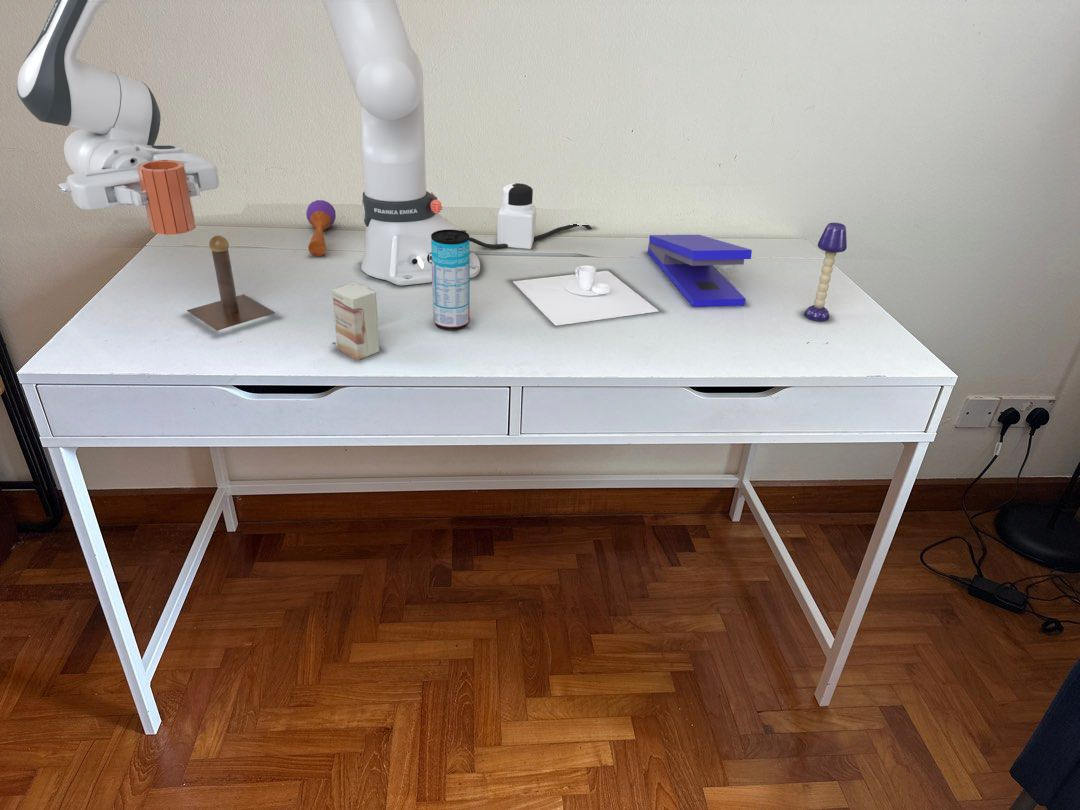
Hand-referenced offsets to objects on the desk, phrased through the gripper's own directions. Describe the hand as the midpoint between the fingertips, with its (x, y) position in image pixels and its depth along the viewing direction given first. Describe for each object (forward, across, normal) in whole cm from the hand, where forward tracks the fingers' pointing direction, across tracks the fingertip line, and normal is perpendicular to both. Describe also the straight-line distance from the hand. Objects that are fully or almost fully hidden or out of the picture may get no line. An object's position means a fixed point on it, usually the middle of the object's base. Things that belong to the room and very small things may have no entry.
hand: (169, 195), depth 107 cm
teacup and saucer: (+32, +57, +21) cm, 68 cm away
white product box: (+23, +14, +21) cm, 34 cm away
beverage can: (+25, +31, +21) cm, 45 cm away
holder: (-1, +6, +21) cm, 22 cm away
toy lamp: (+65, +81, +21) cm, 106 cm away
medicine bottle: (+4, +68, +21) cm, 71 cm away
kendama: (-23, +38, +21) cm, 49 cm away
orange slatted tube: (-1, 0, +5) cm, 5 cm away
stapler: (+40, +80, +21) cm, 92 cm away
